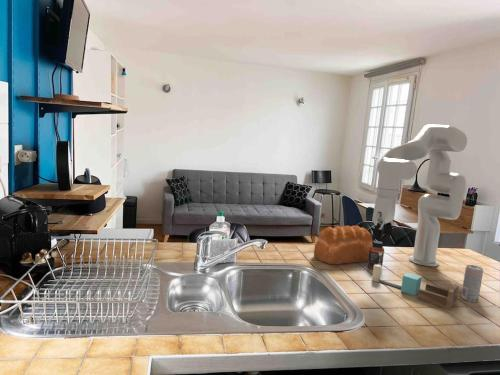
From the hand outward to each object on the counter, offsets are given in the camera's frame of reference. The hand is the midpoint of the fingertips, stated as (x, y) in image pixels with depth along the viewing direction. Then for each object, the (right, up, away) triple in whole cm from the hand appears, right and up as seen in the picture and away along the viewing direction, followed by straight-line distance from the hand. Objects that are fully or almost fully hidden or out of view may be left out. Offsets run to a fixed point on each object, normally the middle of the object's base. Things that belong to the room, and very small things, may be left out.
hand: (382, 237), depth 143 cm
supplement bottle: (+3, -16, +18) cm, 24 cm away
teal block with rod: (+4, -18, -2) cm, 19 cm away
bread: (-8, -14, +27) cm, 31 cm away
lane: (+15, -21, -12) cm, 28 cm away
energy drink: (+28, -21, -9) cm, 36 cm away
